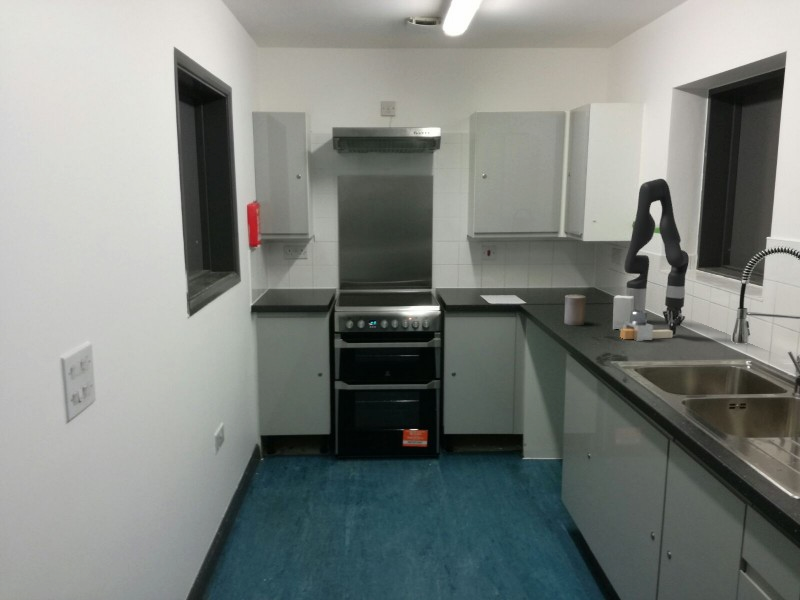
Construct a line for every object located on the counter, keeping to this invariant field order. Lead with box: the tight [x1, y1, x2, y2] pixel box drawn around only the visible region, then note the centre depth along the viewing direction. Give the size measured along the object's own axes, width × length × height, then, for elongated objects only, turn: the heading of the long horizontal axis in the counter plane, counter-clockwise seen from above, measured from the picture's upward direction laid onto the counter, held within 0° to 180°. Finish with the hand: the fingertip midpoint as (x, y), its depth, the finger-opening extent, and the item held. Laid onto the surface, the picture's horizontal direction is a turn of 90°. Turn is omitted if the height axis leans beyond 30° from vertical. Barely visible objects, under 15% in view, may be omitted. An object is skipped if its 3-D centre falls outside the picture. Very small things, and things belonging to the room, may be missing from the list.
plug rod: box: [619, 329, 674, 340], centre depth 262 cm, size 4×23×4 cm, turn 100°
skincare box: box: [612, 294, 634, 331], centre depth 278 cm, size 8×7×16 cm
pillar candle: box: [563, 294, 587, 327], centre depth 291 cm, size 10×10×15 cm
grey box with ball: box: [623, 310, 654, 342], centre depth 262 cm, size 12×7×12 cm, turn 9°
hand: (672, 334), depth 265 cm, fingers closed
